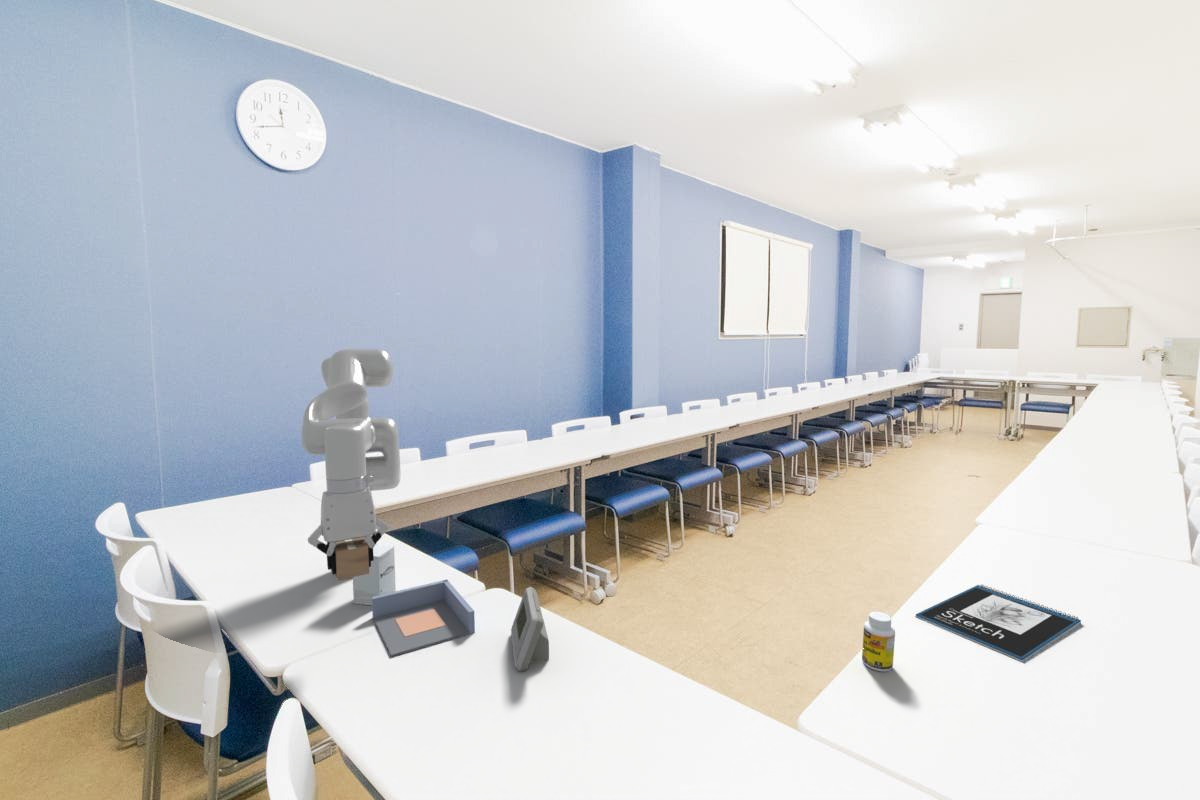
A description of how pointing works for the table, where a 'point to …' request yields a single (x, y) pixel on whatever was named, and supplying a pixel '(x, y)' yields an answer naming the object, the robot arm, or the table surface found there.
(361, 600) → the supplement box
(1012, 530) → the table surface
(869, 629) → the supplement bottle
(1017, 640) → the sketchbook
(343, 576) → the brown cardboard box
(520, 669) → the digital clock
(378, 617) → the arena
